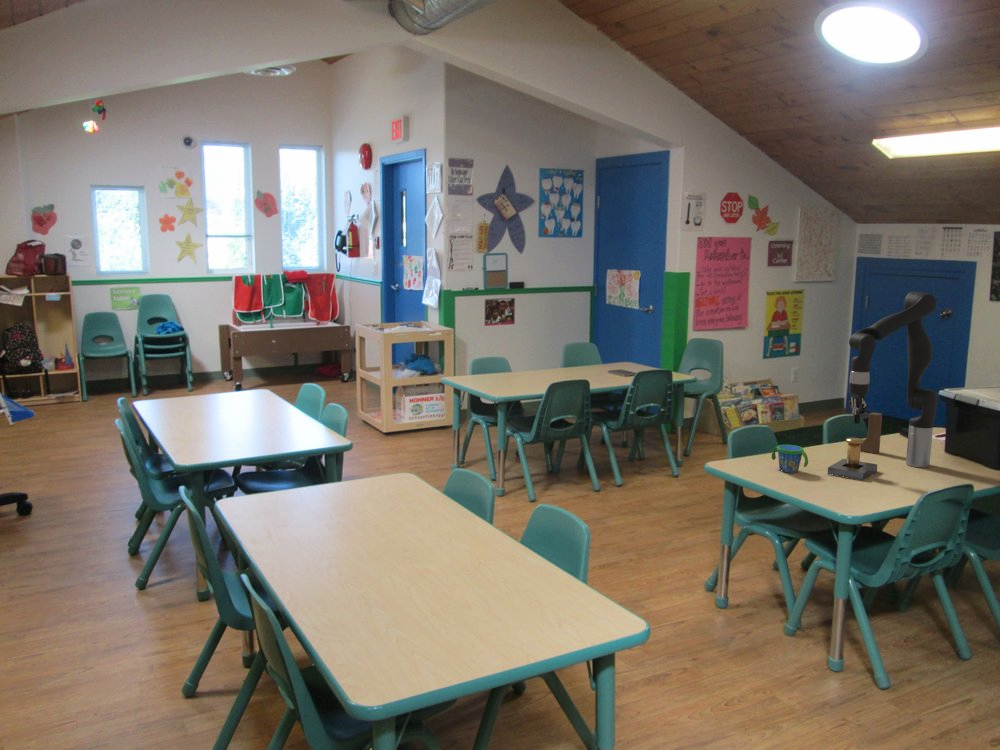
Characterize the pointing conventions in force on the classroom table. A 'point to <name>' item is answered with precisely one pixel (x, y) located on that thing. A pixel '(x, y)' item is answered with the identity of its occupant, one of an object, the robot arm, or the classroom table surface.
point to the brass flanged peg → (853, 452)
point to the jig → (852, 470)
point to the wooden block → (873, 434)
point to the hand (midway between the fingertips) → (856, 423)
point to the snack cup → (789, 457)
